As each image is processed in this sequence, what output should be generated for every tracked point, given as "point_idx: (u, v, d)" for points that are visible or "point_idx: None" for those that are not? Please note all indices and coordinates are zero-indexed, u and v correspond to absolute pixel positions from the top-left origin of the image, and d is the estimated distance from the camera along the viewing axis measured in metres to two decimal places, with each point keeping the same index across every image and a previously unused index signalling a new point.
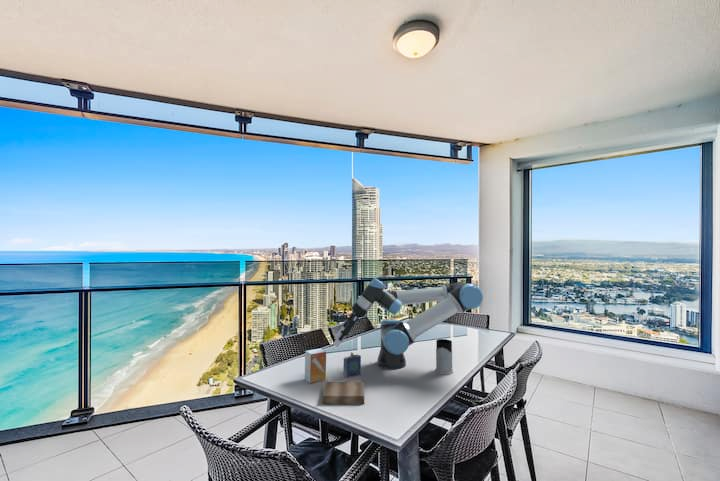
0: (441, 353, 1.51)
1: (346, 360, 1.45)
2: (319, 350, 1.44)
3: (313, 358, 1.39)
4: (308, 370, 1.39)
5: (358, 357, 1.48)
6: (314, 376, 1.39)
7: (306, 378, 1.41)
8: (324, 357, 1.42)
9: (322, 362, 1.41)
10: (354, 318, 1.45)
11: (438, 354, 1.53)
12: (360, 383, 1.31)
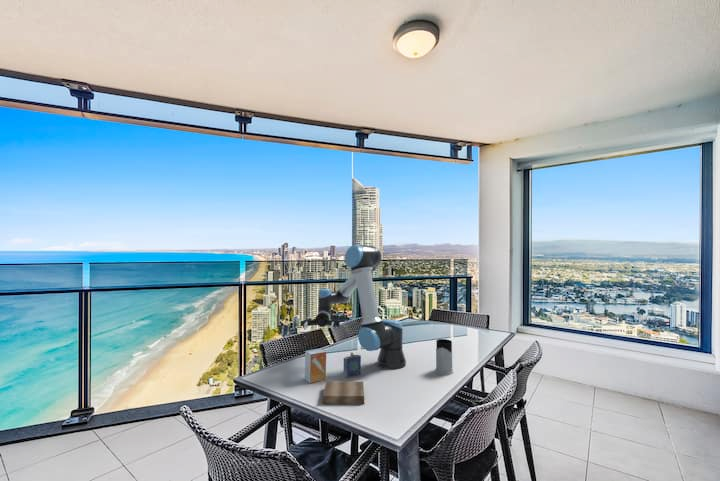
0: (441, 353, 1.51)
1: (346, 360, 1.45)
2: (319, 350, 1.44)
3: (313, 358, 1.39)
4: (308, 370, 1.39)
5: (358, 357, 1.48)
6: (314, 376, 1.39)
7: (306, 378, 1.41)
8: (324, 357, 1.42)
9: (322, 362, 1.41)
10: None
11: (438, 354, 1.53)
12: (360, 383, 1.31)
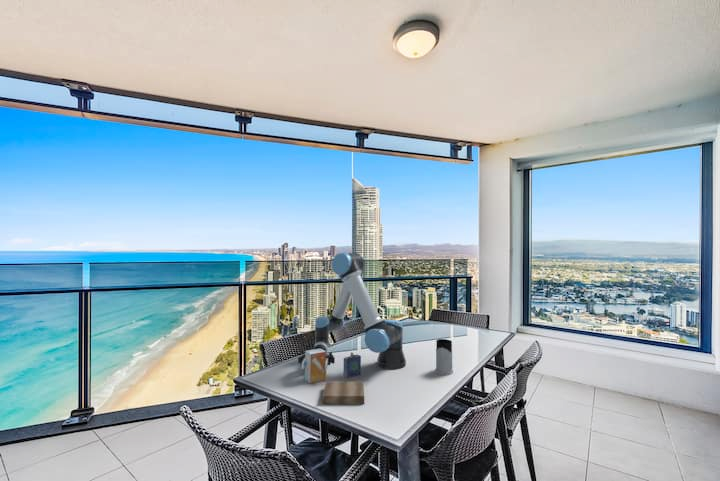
0: (441, 353, 1.51)
1: (346, 360, 1.45)
2: (319, 350, 1.44)
3: (313, 358, 1.39)
4: (308, 370, 1.39)
5: (358, 357, 1.48)
6: (314, 376, 1.39)
7: (306, 378, 1.41)
8: (324, 357, 1.42)
9: (322, 362, 1.41)
10: None
11: (438, 354, 1.53)
12: (360, 383, 1.31)
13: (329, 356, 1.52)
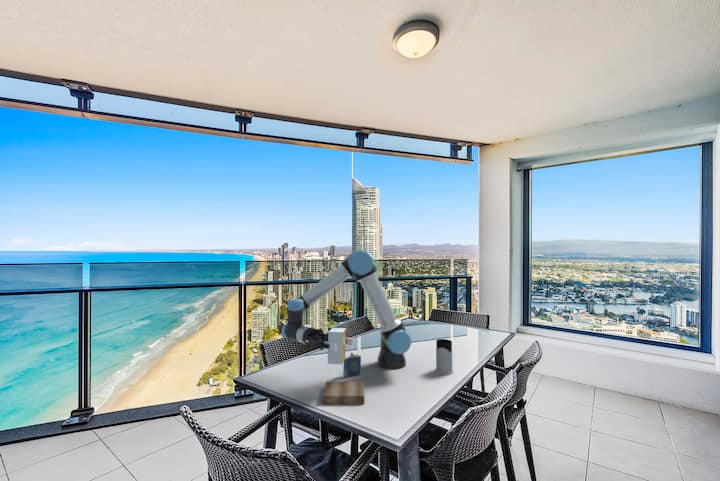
0: (441, 353, 1.51)
1: (346, 360, 1.45)
2: (338, 328, 1.32)
3: (343, 336, 1.27)
4: (338, 351, 1.25)
5: (358, 357, 1.48)
6: (343, 356, 1.27)
7: (332, 361, 1.25)
8: (345, 334, 1.32)
9: (345, 340, 1.31)
10: (306, 341, 1.31)
11: (438, 354, 1.53)
12: (360, 383, 1.31)
13: None
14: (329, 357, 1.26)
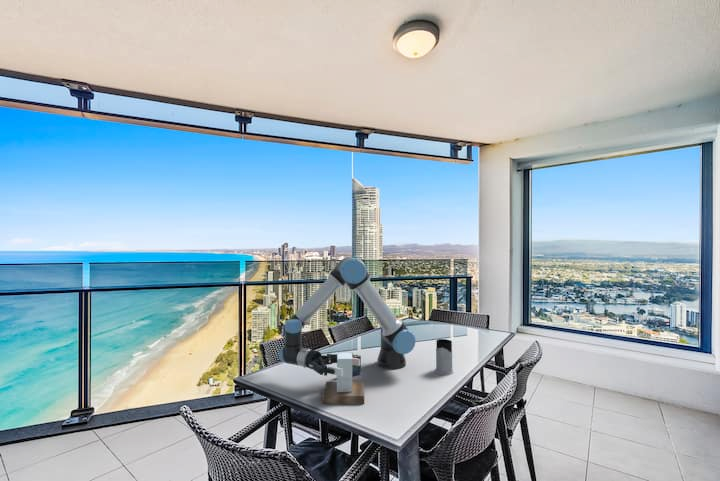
0: (441, 353, 1.51)
1: None
2: (344, 354, 1.29)
3: (352, 363, 1.24)
4: (347, 378, 1.22)
5: (358, 357, 1.48)
6: None
7: (342, 389, 1.22)
8: None
9: None
10: (310, 366, 1.26)
11: (438, 354, 1.53)
12: (360, 383, 1.31)
13: None
14: (338, 385, 1.22)
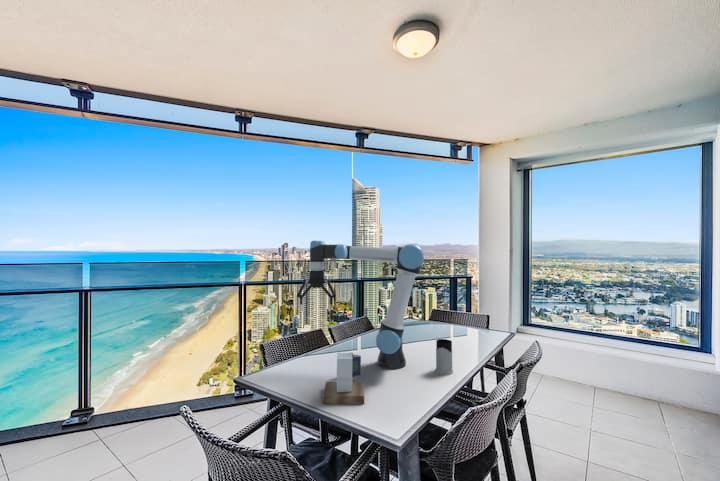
0: (441, 353, 1.51)
1: None
2: (344, 354, 1.29)
3: (352, 363, 1.24)
4: (347, 378, 1.22)
5: (358, 357, 1.48)
6: None
7: (342, 389, 1.22)
8: None
9: None
10: None
11: (438, 354, 1.53)
12: (360, 383, 1.31)
13: (328, 285, 1.61)
14: (338, 385, 1.22)
